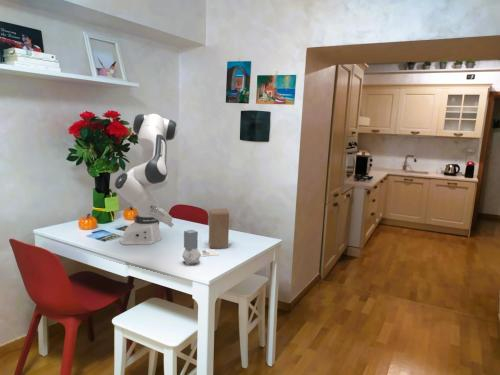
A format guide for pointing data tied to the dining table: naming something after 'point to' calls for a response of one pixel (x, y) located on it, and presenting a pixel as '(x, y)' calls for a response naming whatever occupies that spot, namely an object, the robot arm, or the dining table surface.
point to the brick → (190, 239)
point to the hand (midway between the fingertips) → (166, 223)
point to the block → (218, 228)
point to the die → (191, 256)
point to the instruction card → (208, 253)
